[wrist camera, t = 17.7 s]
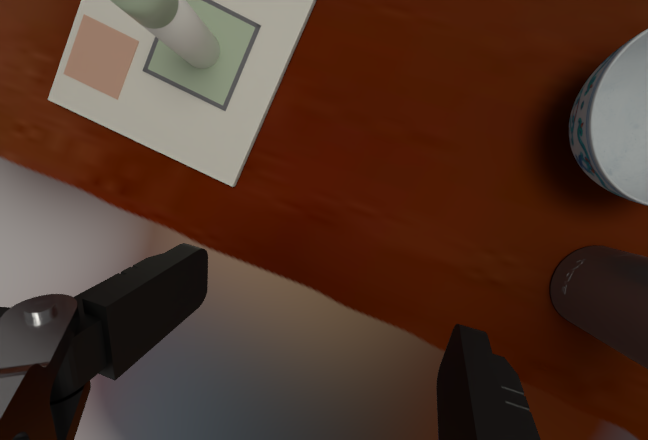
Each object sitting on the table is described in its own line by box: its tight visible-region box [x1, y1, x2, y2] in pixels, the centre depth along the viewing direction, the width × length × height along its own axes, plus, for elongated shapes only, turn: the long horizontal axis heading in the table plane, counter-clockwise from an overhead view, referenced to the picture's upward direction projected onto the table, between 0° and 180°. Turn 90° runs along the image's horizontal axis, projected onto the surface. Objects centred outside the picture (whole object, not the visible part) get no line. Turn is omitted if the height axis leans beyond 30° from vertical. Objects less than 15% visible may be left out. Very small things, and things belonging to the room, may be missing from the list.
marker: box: [110, 0, 220, 69], centre depth 25 cm, size 4×4×12 cm
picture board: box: [48, 0, 316, 187], centre depth 32 cm, size 20×22×1 cm
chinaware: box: [569, 29, 648, 205], centre depth 29 cm, size 15×15×8 cm
